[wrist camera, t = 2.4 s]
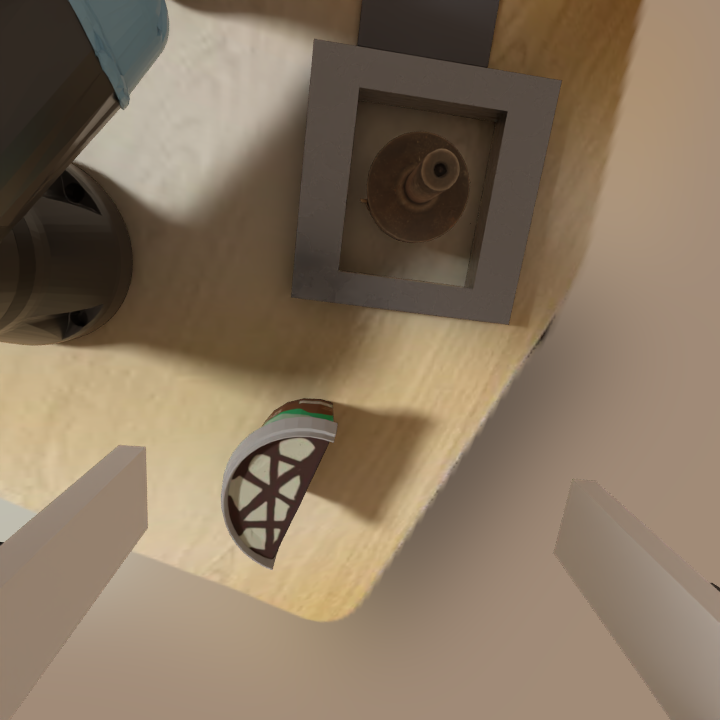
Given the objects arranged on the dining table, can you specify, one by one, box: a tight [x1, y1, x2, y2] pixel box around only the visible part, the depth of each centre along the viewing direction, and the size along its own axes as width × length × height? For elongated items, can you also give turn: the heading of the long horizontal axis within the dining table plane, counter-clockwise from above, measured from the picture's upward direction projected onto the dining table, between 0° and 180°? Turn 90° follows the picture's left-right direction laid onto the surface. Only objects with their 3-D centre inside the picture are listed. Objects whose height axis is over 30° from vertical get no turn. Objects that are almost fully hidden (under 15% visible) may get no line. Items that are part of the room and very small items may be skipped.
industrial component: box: [360, 132, 471, 243], centre depth 28 cm, size 9×7×12 cm
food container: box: [221, 398, 338, 570], centre depth 34 cm, size 12×6×10 cm, turn 155°
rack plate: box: [291, 39, 562, 325], centre depth 33 cm, size 18×18×2 cm
